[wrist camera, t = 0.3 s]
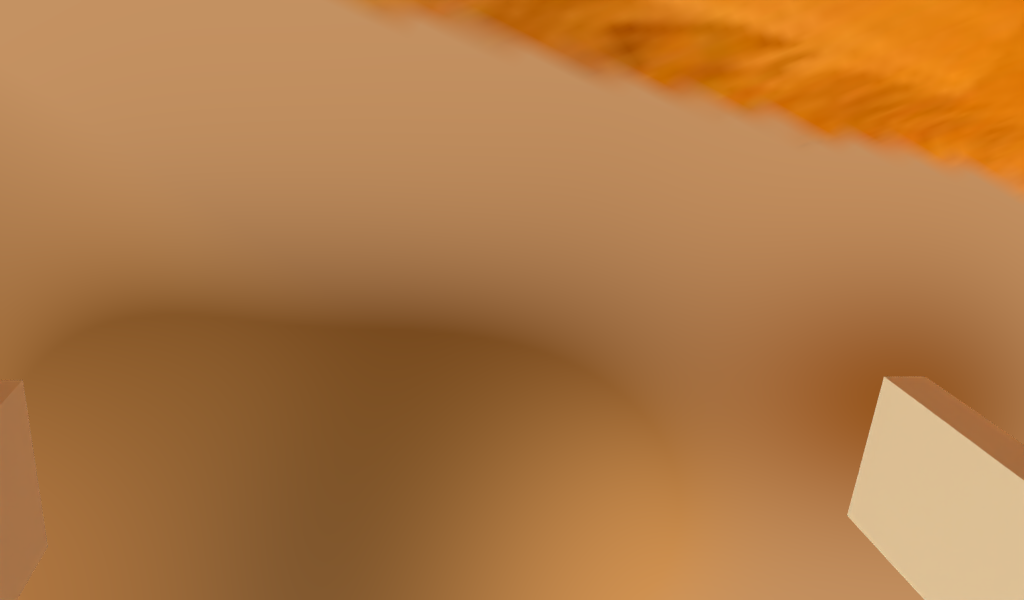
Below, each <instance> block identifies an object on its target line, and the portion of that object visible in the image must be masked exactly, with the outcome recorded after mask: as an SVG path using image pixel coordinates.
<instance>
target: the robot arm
mask: <svg viewBox="0 0 1024 600" xmlns="http://www.w3.org/2000/svg"><path fill="white" fill-rule="evenodd" d="M28 419H29V418H28V412H27V405H26V398H25V392H24V385H23V380H0V600H17V599H18V597H19V596H20V594H21V592H22V590H23V589H24V587H25V585H26V584H27V582H28V580H29V578H30V577H31V575H32V573H33V571H34V570H35V568H36V566H37V565H38V563H39V561H40V559H41V558H42V556H43V554H44V552H45V551H46V549H47V547H48V545H47V539H46V532H45V525H44V519H43V512H42V505H41V498H40V492H39V486H38V479H37V472H36V465H35V459H34V452H33V445H32V439H31V432H30V425H29V420H28ZM847 516H848V517H849V518H850V519H851V520H852V521H853V522H854V523H855V524H856V526H857V527H858V528H859V529H860V530H861V531H862V532H863V533H864V534H865V535H866V537H867V538H868V539H869V540H870V541H871V542H872V543H873V544H874V545H875V546H876V547H877V549H878V550H879V551H880V552H881V553H882V554H883V555H884V556H885V557H886V558H887V559H888V561H889V562H890V563H891V564H892V565H893V566H894V567H895V568H896V569H897V570H898V571H899V573H900V574H901V575H902V576H903V577H904V578H905V579H906V580H907V581H908V582H909V583H910V585H911V586H912V587H913V588H914V589H915V590H916V591H917V592H918V593H919V594H920V595H921V596H922V598H923V599H924V600H1024V444H1022V443H1021V442H1019V441H1018V440H1016V439H1015V438H1014V437H1012V436H1011V435H1009V434H1008V433H1006V432H1005V431H1003V430H1002V429H1001V428H999V427H997V426H996V425H995V424H993V423H992V422H990V421H989V420H987V419H986V418H984V417H983V416H982V415H980V414H979V413H977V412H976V411H974V410H973V409H972V408H970V407H968V406H967V405H966V404H964V403H963V402H961V401H960V400H958V399H957V398H955V397H954V396H952V395H951V394H950V393H948V392H947V391H945V390H944V389H942V388H941V387H940V386H938V385H937V384H935V383H934V382H932V381H931V380H929V379H928V378H926V377H925V376H921V377H920V376H917V377H915V376H914V377H913V376H912V377H884V379H883V383H882V387H881V391H880V394H879V399H878V402H877V406H876V409H875V413H874V417H873V421H872V425H871V428H870V432H869V436H868V440H867V444H866V447H865V451H864V455H863V459H862V462H861V466H860V470H859V474H858V477H857V481H856V485H855V489H854V492H853V496H852V500H851V504H850V507H849V511H848V515H847Z"/></svg>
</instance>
